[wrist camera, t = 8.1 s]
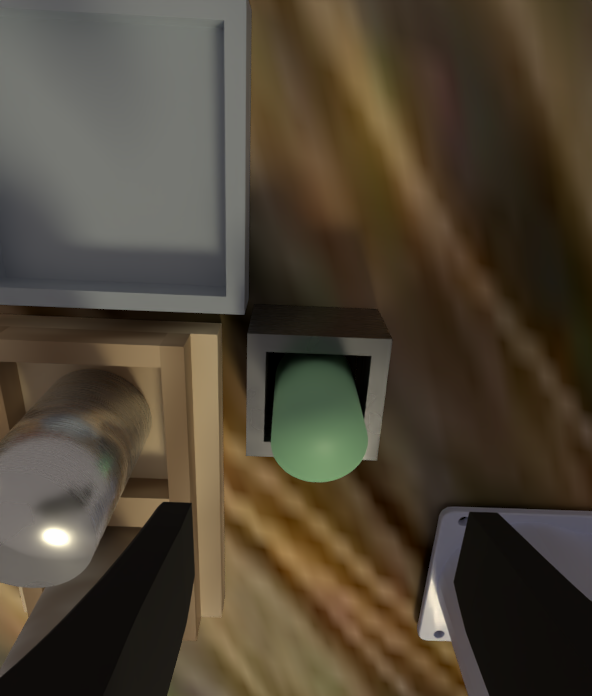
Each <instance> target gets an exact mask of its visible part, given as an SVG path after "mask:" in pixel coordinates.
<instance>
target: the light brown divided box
mask: <svg viewBox="0 0 592 696" xmlns="http://www.w3.org/2000/svg"><path fill="white" fill-rule="evenodd" d="M84 369H95V370H102V371H107V372H110V373H113V374H116V375H118V376H120V377H122V378H124V379H125V380H127V381H128V382H130V383H131V384H132V385H133V386H135V387H136V388H137V389H138V390H139V392H140V393H141V394H142V395H143V397H144V398H145V400H146V402H147V404H148V406H149V409H150V412H151V417H152V426H151V431H150V434H149V437H148V439H147V441H146V443H145V445H144V447H143V450H142V452H141V454H140V456H139V458H138V460H137V463H136V465H135V467H134V469H133V471H132V473H131V475H130V478H129V480H128V482H127V484H126V486H125V488H124V491H123V493H122V495H121V497H120V499H119V501H118V504H117V506H116V508H115V510H114V512H113V514H112V516H111V519H110V521H109V523H108V525H107V527H106V529H105V532H104V534H103V536H102V538H101V540H100V542H99V544H98V547H97V549H96V551H95V553H94V555H93V557H92V559H91V561H90V563H89V565H88V566H87V567H86V569H85V570H84V571H83V572H82V573H81V574H79V575H78V576H76V577H75V578H73V579H71V580H70V581H68V582H65V583H62V584H60V585H55V586H51V587H44V588H26V587H19V590H20V595H21V599H22V604H23V608H24V612H28V617H29V618H28V620H27V622H26V623H25V625H24V627H23V629H22V631H21V633H20V634H19V636H18V638H17V640H16V642H15V643H14V645H13V647H12V649H11V651H10V653H9V654H8V656H7V658H6V660H5V662H4V664H3V665H2V667H1V669H0V677H1V676H2V675H3V674H5V673H6V672H7V671H8V670H9V669H10V668H12V667H13V666H14V665H15V664H16V663H17V662H18V661H19V660H20V659H22V658H23V657H24V656H25V655H26V654H27V653H28V652H29V651H30V650H31V649H32V648H33V647H34V646H36V645H37V644H38V643H39V642H40V641H41V640H42V639H43V638H44V637H45V636H46V635H47V634H48V633H49V632H50V631H51V630H52V629H53V628H54V627H55V626H56V625H57V624H58V623H59V622H60V621H61V620H62V619H63V618H64V617H65V616H66V615H67V614H68V613H69V612H70V611H71V610H72V609H73V608H74V606H75V605H76V604H77V603H78V602H79V601H80V600H81V599H82V598H83V597H84V596H85V595H86V594H87V593H88V591H89V590H90V589H91V588H92V587H93V586H94V585H95V584H96V583H97V582H98V581H99V579H100V578H101V577H102V576H103V575H104V574H105V572H106V571H107V570H108V569H109V568H110V567H111V565H112V564H113V563H114V562H115V561H116V560H117V558H118V557H119V556H120V555H121V554H122V552H123V551H124V550H125V549H126V548H127V546H128V545H129V544H130V543H131V541H132V540H133V539H134V538H135V536H136V535H137V534H138V532H139V531H140V530H141V529H142V527H143V526H144V525H145V523H146V522H147V521H148V519H149V518H150V517H151V515H152V514H153V513H154V511H155V510H156V508H157V507H158V506H159V505H160V504H161V503H162V502H188V503H192V516H193V539H194V563H195V578H194V584H193V590H192V596H191V602H190V608H189V613H188V619H187V624H186V628H185V632H184V635H183V639H182V640H185V641H197V636H198V630H199V625H200V620H201V617H222V612H223V606H224V599H225V554H224V469H223V385H222V323H205V322H181V321H157V320H132V319H108V318H84V317H59V316H35V315H10V314H0V441H1V440H2V439H3V438H4V437H5V436H6V435H7V433H8V432H9V431H10V430H11V429H12V428H13V427H14V426H15V425H16V424H17V423H18V422H19V420H20V419H21V418H22V417H23V416H24V415H25V414H26V413H27V412H28V411H29V410H30V409H31V408H32V406H33V405H34V404H35V403H36V402H37V401H38V400H39V399H40V398H41V397H42V396H43V395H44V394H45V392H46V391H47V390H48V389H49V388H50V387H51V386H52V385H53V384H54V383H55V382H56V381H57V380H58V379H59V378H61V377H63V376H64V375H66V374H68V373H71V372H74V371H77V370H84Z"/></svg>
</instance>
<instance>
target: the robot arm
mask: <svg viewBox="0 0 592 696" xmlns="http://www.w3.org/2000/svg"><path fill="white" fill-rule="evenodd" d="M462 517H466V518H465V519H463V520H459V519H460V518H462ZM194 578H195V563H194V539H193V516H192V503H188V502H162V503H161V504H160V505H159V506H158V507H157V508H156V510H155V511H154V513H153V514H152V515H151V517H150V518H149V519H148V521H147V522H146V523H145V525H144V526H143V527H142V529H141V530H140V531H139V532H138V534H137V535H136V536H135V538H134V539H133V540H132V541H131V543H130V544H129V545H128V546H127V548H126V549H125V550H124V551H123V552H122V554H121V555H120V556H119V557H118V558H117V560H116V561H115V562H114V563H113V564H112V565H111V567H110V568H109V569H108V570H107V571H106V572H105V574H104V575H103V576H102V577H101V578H100V579H99V581H98V582H97V583H96V584H95V585H94V586H93V587H92V588H91V589H90V590H89V591H88V593H87V594H86V595H85V596H84V597H83V598H82V599H81V600H80V601H79V602H78V603H77V604H76V605H75V606H74V608H73V609H72V610H71V611H70V612H69V613H68V614H67V615H66V616H65V617H64V618H63V619H62V620H61V621H60V622H59V623H58V624H57V625H56V626H55V627H54V628H53V629H52V630H51V631H50V632H49V633H48V634H47V635H46V636H45V637H44V638H43V639H42V640H41V641H40V642H39V643H38V644H37V645H36V646H34V647H33V648H32V649H31V650H30V651H29V652H28V653H27V654H26V655H25V656H24V657H23V658H22V659H20V660H19V661H18V662H17V663H16V664H15V665H14V666H13V667H12V668H10V669H9V670H8V671H7V672H6V673H5V674H3V675H2V676H1V677H0V696H167V693H168V690H169V686H170V682H171V679H172V675H173V672H174V668H175V665H176V661H177V657H178V654H179V650H180V646H181V643H182V639H183V635H184V632H185V628H186V624H187V619H188V613H189V608H190V602H191V596H192V590H193V584H194ZM417 631H418V635H419V637H420V638H421V639H423V640H429V641H451V642H452V645H453V648H454V651H455V654H456V658H457V661H458V664H459V667H460V670H461V674H462V677H463V680H464V683H465V686H466V689H467V693H468V696H592V511H573V510H543V509H512V508H482V507H447V508H445V509H443V510H442V511H441V512H440V515H439V519H438V524H437V529H436V534H435V539H434V544H433V549H432V554H431V560H430V565H429V570H428V575H427V580H426V585H425V590H424V595H423V600H422V605H421V610H420V615H419V620H418V625H417Z"/></svg>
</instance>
